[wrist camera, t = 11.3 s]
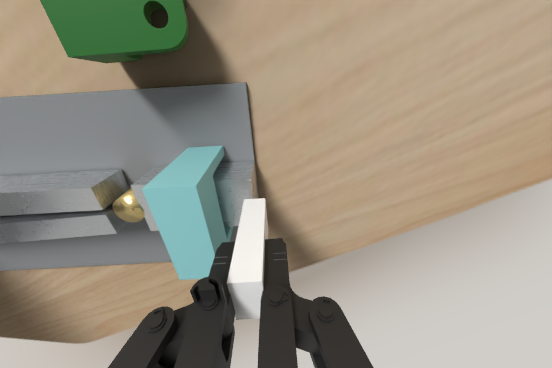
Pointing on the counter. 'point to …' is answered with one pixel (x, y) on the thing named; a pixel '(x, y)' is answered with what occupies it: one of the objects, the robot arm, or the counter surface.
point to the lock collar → (189, 210)
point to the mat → (115, 155)
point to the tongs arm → (59, 225)
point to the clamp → (116, 28)
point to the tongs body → (116, 192)
